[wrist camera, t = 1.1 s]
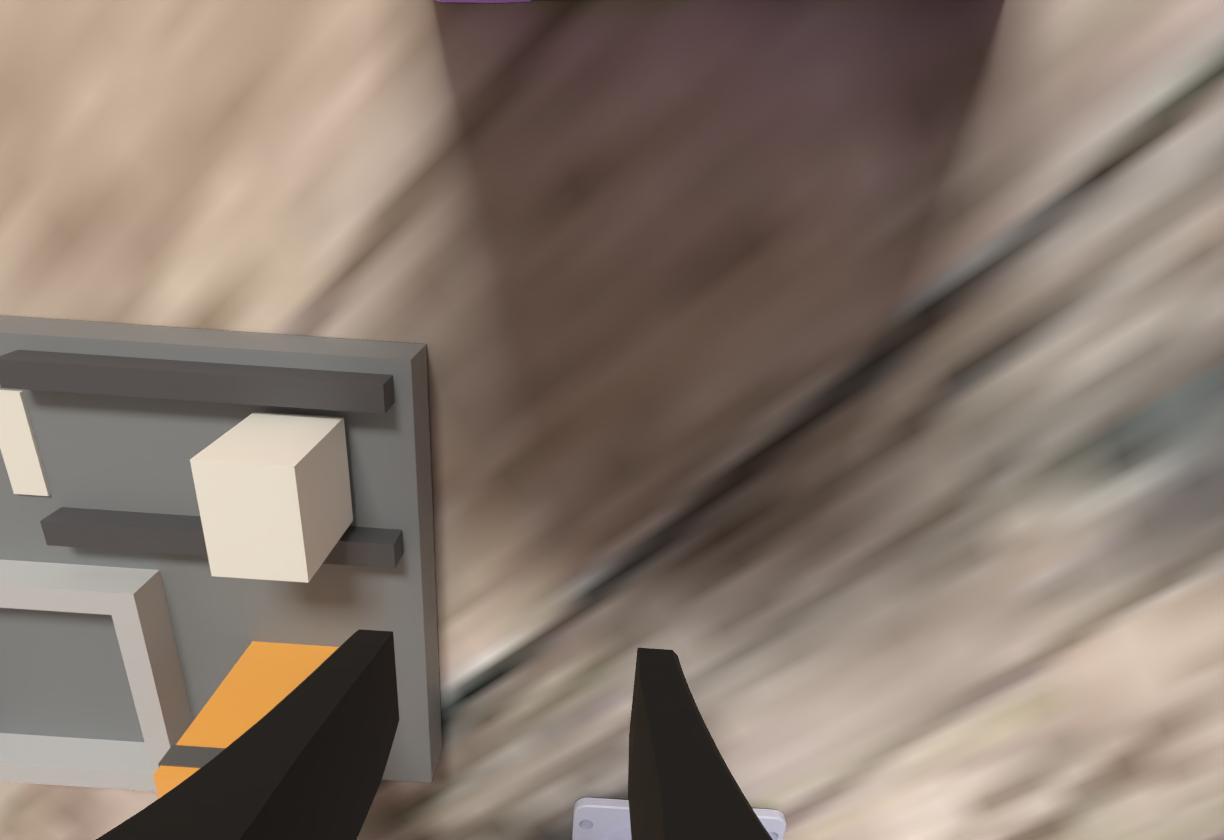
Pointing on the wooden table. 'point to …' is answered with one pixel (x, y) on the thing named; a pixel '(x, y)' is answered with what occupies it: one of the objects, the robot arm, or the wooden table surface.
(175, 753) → the cap
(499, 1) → the candy box
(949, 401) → the wooden table surface
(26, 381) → the breaker panel
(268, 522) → the switch
